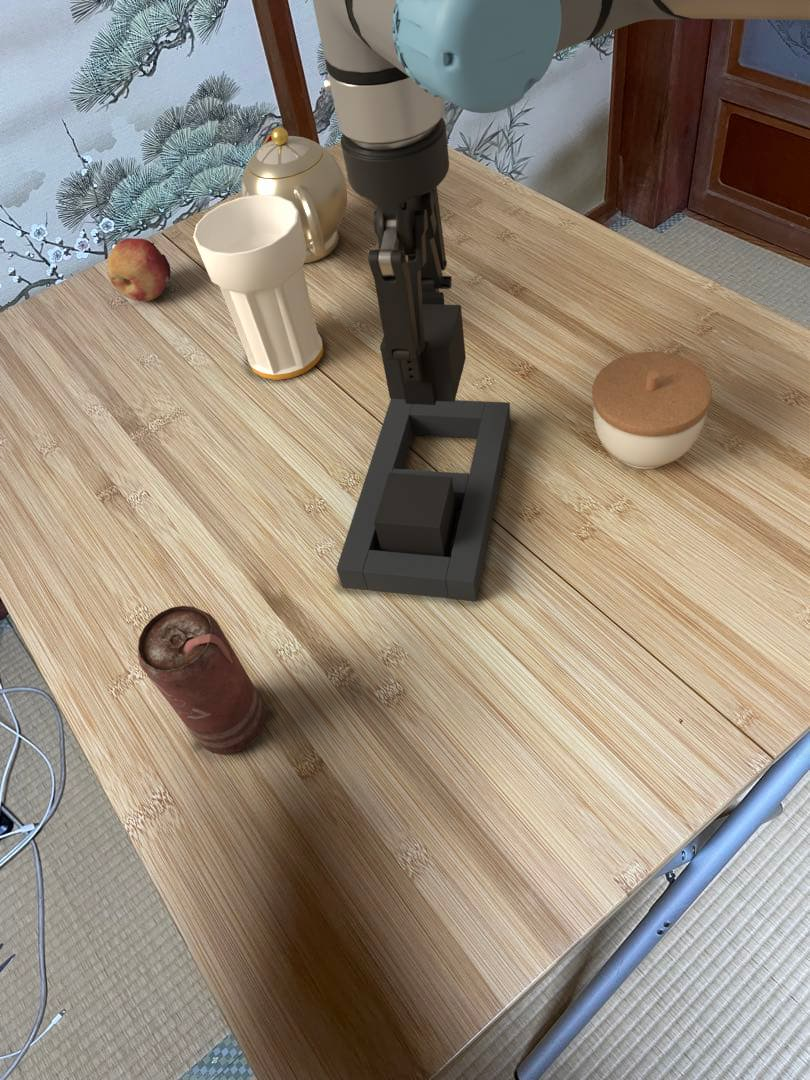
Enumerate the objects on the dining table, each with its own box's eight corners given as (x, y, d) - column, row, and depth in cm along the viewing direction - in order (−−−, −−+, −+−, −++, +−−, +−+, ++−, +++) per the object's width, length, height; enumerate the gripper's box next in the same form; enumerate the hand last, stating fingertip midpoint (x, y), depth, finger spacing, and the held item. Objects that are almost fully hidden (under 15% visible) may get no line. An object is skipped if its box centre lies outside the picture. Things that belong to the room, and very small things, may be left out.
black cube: (454, 402, 74) (448, 349, 70) (389, 399, 76) (379, 346, 71) (465, 358, 78) (460, 304, 73) (403, 355, 79) (394, 303, 75)
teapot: (248, 236, 118) (211, 120, 105) (338, 207, 119) (313, 88, 107) (280, 304, 107) (244, 183, 94) (379, 270, 108) (357, 147, 96)
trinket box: (628, 502, 79) (636, 432, 72) (569, 434, 86) (571, 363, 78) (723, 459, 81) (741, 386, 74) (658, 396, 87) (668, 323, 80)
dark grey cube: (446, 568, 77) (439, 527, 73) (384, 562, 79) (373, 522, 74) (457, 518, 81) (452, 476, 76) (397, 513, 82) (388, 472, 78)
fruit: (112, 298, 113) (87, 245, 107) (160, 271, 115) (138, 218, 109) (139, 321, 109) (114, 268, 102) (189, 293, 111) (167, 239, 105)
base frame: (510, 423, 88) (509, 402, 86) (476, 601, 75) (473, 582, 72) (395, 417, 91) (391, 396, 88) (342, 587, 78) (336, 568, 75)
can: (270, 751, 68) (216, 667, 57) (194, 761, 69) (127, 679, 58) (271, 686, 72) (222, 595, 61) (200, 696, 72) (138, 607, 62)
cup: (237, 337, 104) (190, 208, 90) (325, 316, 104) (292, 184, 90) (244, 396, 96) (195, 265, 83) (339, 373, 97) (305, 238, 83)
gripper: (371, 65, 65) (410, 310, 83) (303, 198, 54) (364, 448, 72) (466, 60, 63) (484, 312, 81) (416, 197, 52) (450, 453, 70)
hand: (428, 375), depth 77 cm, fingers closed on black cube, 6 cm apart
